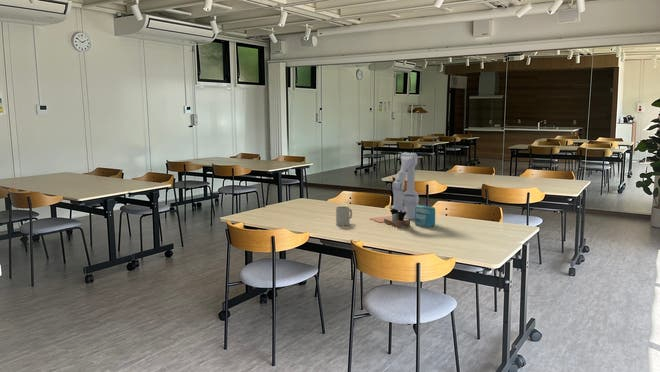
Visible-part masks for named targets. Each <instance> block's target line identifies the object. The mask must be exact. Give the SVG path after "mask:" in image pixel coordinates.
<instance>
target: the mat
mask: <svg viewBox="0 0 660 372" xmlns="http://www.w3.org/2000/svg"><path fill="white" fill-rule="evenodd" d="M369 219H370V221H371V220H372V221H374V222H376V223H379V224H382V223H384V219H388V220H390V221H392V215H389V216H381V217H379V216H378V217H370V218H369Z"/></svg>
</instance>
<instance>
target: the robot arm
mask: <svg viewBox="0 0 660 372" xmlns="http://www.w3.org/2000/svg"><path fill="white" fill-rule="evenodd" d="M418 159H419V158H418V154H417V153H416V152H414V153H413V152H402V153H401V155H400V161H401V166H400V170H399V171H398V172H397V174H396V177H395V180H394V181H392V184H391V189H392V194H393V205H390V208H391V209H389V211H390V213H391V215H392V214H398V217H399V221H402V220H405V219H406V218H407V219H406V220H415V207H417V206H420V205H419V201H420V197H419V193H418V192H417V191H416V190H415V179H416V178H415V176H416V175H415V171H416V169H415V168H416V166H417V165H418ZM406 172H407V174H406ZM405 180H406V190H405ZM404 190H405V191H404ZM403 191H404V192H403Z"/></svg>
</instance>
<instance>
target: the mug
mask: <svg viewBox="0 0 660 372" xmlns="http://www.w3.org/2000/svg"><path fill="white" fill-rule="evenodd" d="M335 215H336V216H335V219H336V221H335V223H336V226H338V225H341V226H340V227H343V226H342V225H347V226H349V225H350V221H351V219H352V217H353V210H352V209H351V208H350V207H349V206H347V205H346V206H342V205H341V206H337V207H336V209H335Z"/></svg>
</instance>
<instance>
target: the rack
mask: <svg viewBox="0 0 660 372" xmlns="http://www.w3.org/2000/svg"><path fill="white" fill-rule="evenodd" d="M383 223H384V224H385V225H388V224H389V225H388V226H391V225H392V226H391V227H393V226H394V228H396V227H400V228H403V227H402V226H409V227H411V219H404V220H402V221H396V223H395V222H393V221H390V220H388V219H384V222H383Z"/></svg>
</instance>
